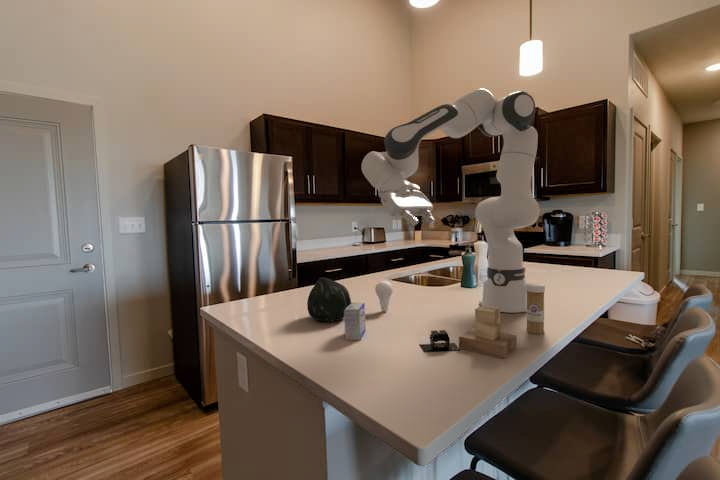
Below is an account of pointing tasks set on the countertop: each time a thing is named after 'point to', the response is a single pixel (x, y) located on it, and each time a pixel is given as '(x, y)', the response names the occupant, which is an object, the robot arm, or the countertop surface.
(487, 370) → the countertop surface
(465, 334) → the walnut base block
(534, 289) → the sprinkles bottle
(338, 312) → the squash
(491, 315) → the oak block
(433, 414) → the countertop surface
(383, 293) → the lightbulb
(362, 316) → the medicine box
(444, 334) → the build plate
